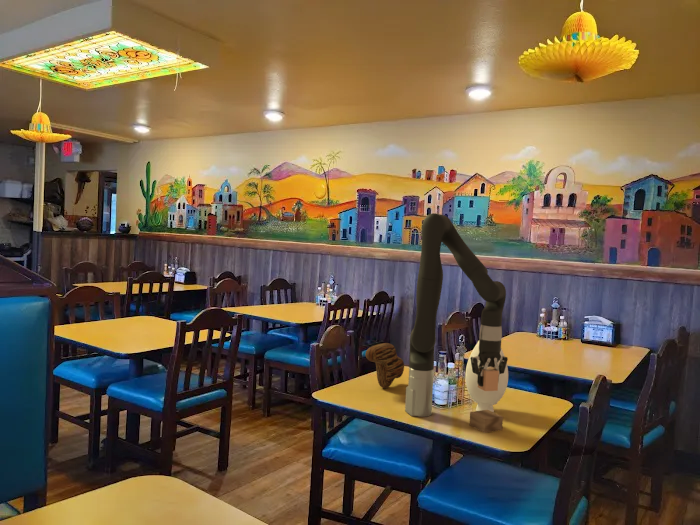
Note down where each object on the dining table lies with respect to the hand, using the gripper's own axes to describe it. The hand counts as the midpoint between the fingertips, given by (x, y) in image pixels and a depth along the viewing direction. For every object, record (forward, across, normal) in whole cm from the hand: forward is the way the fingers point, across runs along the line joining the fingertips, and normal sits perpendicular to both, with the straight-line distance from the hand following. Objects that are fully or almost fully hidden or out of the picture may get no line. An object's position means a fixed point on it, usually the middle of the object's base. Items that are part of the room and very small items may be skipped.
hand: (487, 385), depth 194 cm
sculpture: (+15, +18, -52) cm, 58 cm away
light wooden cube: (+1, 0, 0) cm, 1 cm away
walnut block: (+15, 0, 0) cm, 15 cm away
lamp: (+15, -10, -17) cm, 25 cm away
